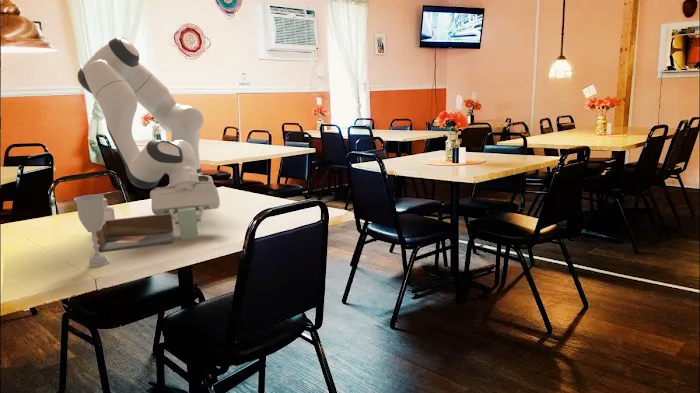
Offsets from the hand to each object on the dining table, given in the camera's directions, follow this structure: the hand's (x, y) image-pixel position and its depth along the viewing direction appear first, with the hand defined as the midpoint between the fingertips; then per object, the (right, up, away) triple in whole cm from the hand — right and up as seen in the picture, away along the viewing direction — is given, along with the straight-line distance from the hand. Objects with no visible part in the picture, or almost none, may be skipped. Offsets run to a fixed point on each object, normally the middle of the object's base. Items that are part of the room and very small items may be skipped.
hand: (187, 221), depth 158 cm
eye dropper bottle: (-31, -4, +13) cm, 34 cm away
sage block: (0, -5, +2) cm, 5 cm away
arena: (-15, -6, -1) cm, 16 cm away
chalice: (-17, -10, -21) cm, 29 cm away
